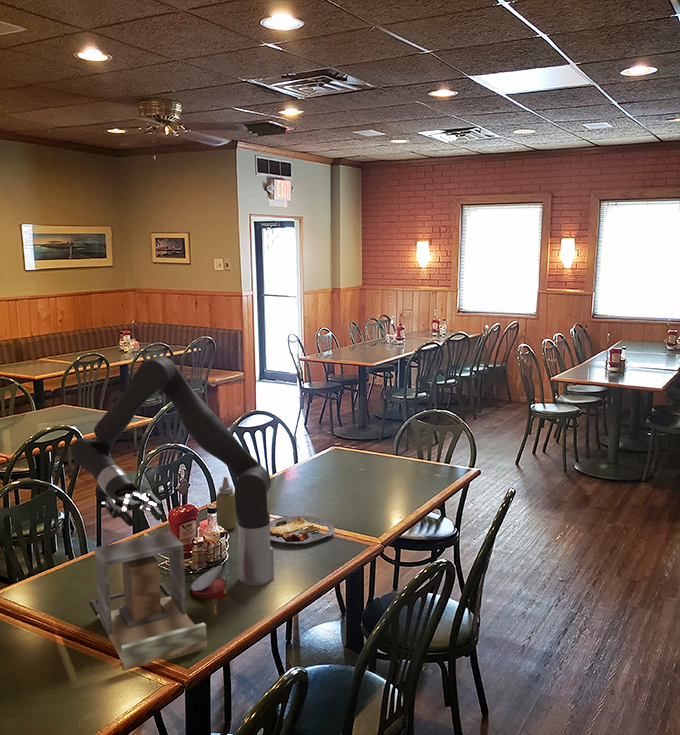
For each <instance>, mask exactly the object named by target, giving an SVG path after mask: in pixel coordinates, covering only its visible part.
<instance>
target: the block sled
mask: <svg viewBox="0 0 680 735" xmlns="http://www.w3.org/2000/svg"><path fill="white" fill-rule="evenodd" d="M159 566H160V565H159V561H158V560H157V558H156V557H155V555H154V556H150V557H145V558H141V559H136V560H132V561H127V562H123V563H121V569H122V585H123V587H122V588H123V592H124V596H123V600H124V601H123V603H124V605H121V606H119V607H118V609H119V613H120V615H121V616H122V618H123V620H124V622H125V623H126V625H127V627H128V628H129V627H133V626H136V625H140V624H144V623H147V622H151V621H155V620H159V619H162V618H166V617H167V611H166V610H165V609H164V607H163V606H162V604H161V602H160V598H161V590H160V589H161V587H160V583H161V582H160V571H159V570H160V568H159Z"/></svg>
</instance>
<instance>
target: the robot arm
mask: <svg viewBox="0 0 680 735" xmlns="http://www.w3.org/2000/svg"><path fill="white" fill-rule="evenodd" d="M158 391H161V392H162V393H163V395H164V396H166V398H167V399H168V400H169V401H170V402H171V404H172V405H173V407H174V408H175V410H176V412H177V415H178V417H179V419H180V420H181V424H182V426H183V427H184V429H185V430H186V432H187V434H188V435H189V436H190V437H191V438H192V439H193V440H194V442H195V443H196V444H197V445H198V446H199V447H200V448H201V449H202V450H203V451H205V452H206V453H208V454H209V455H211V456H212V457H214V458H216V459H217V460H219V461H221V462H222V463H223V464H224V465H225V466H226V467H227V468H228V469H229V470H230V471H231V472H232V474H233V475H234V476H235V477H236V481H235V484H234V493H235V510H236V516H237V519H238V520H237V532H238V534H237V535H238V536H237V537H238V560H239V562H238V563H239V564H238V565H239V566H238V567H239V568H238V569H239V571H238V572H239V581H240V583H242V584H243V585H246V586H253V587H254V586H261V584H262V585H265V584H267V583H269V582H270V581H271V579H272V580H274V579H275V569H274V568H275V564H274V563H275V562H274V561H275V560H274V557H275V556H274V548H273V547H272V545H271V541H270V521H271V516H270V512H269V511H268V497H267V496H268V492H269V490H270V488H271V484H272V479H271V475H270V473H269V472H268V471H267V469H265V467H264V466H262V465H261V464H260V463H259V462H258V461H257V460H256V459H255V458H254V457H253V456H252V455H251V454H249V452H247V450H246V449H245V448H244V447H243V446H242V444H241V443H240V442H239V441H238V440H237V439H236V437H235V436H234V435H233V434H232V432H231V431H230V430H229V429H228V427H226V426H225V423H223V421H222V420H220V418H219V417H218V416H217V415H216V414H215V413H214V411H213V410H212V409H211V408H210V407H209V406H208V405H207V403H205V401H204V400H203V399H202V398H201V397H200V396H199V395H198V394H197V393H196V391H194V389H193V388H192V386H190V384H189V383H188V382H187V380H186V379H185V377H184V376H183V374H182V373H181V371H180V370H179V368H178V367H177V366H176V364H175V363H174V362H173V361H172V359H170V358H168V357H166V356H163V355H157V356H156V355H155V356H152V357H150V358H149V359H146V360H143V362H142V363H140V365H139V367H138V368H137V370H136V372H135V373H134V375H133V377H132V379H131V380H130V382H129V384H128V385H127V386H126V388H125V390H124V391H123V393H121V395H120V397H118V399H117V400H116V401H115V403H113V405H112V406H111V407H109V409H108V410H107V412H105V414H104V415H103V416H102V417H101V418H100V419H99V421H98V422H97V423H96V424H95V426H94V428H93V433H94V435H95V436H96V438H97V440H96V439H91V438H85V437H80V438H77V439H75V440H74V441H73V443H72V444H71V447H70V455H71V458H72V459H73V461H74V462H75V463H76V464H77V465H78V466H80V467H81V468H82V469H83V470H85V471H86V472H87V473H89V474H90V475H92V477H93V478H94V479H95V481H96V482H97V483H98V484H99V487H100V488H101V490H102V491H103V492H104V493H105V495H106V496H107V497H106V500H105V502H104V506H103V507H105V509H106V511H108V512H107V513H109V515H110V516H111V518H112V519H117V518H119V519H120V520H122V521H123V522H124V524H125V525H127V526H128V527H133V526H134V524H135V518H134V517H133V516H132V515H131V514H130V513H129V512H130V511H133V510H141V511H143V512H144V511H146V512H150V514H151V516H153V518H154V519H155V520H156V521H157V522H158V521H161V519H162V516H163V512H162V511H161V510H160V505H161V503H162V502H161V500H159V498H157V497H156V495H155V494H154V493H153V492H152V491H151V490H147V491H146V493H142V492H140V491H139V490H138V487H137V485H136V484H135V482H134V481H133V480H132V479H131V478H130V476H128V474H127V473H126V472H125V471H124V470H123V469H122V468H121V467H120V466H119V465H118V464H117V463H116V461H115V460H114V459H113V458H112V457H110V454H111V451H112V449H113V446H115V445H114V444H115V442H116V441H117V439H118V438H119V437H120V435H121V434H122V433H123V432H124V431H125V430H126V428H127V427H128V426H130V425H129V424H130V423H131V422H132V420H133V418H134V417H135V415H136V413H138V410H139V409H140V408H141V407H142V406H143V405H144V403H145V402H146V401H147V400H148V399H149V398H150V397H152V396H153V395H155V393H157V392H158ZM143 503H144V504H143ZM118 507H119V508H120V509H119V508H118Z"/></svg>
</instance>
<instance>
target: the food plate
mask: <svg viewBox="0 0 680 735" xmlns="http://www.w3.org/2000/svg"><path fill="white" fill-rule="evenodd" d="M310 522H312V523H316V524H319V525H321V526H326V527H328V529H329V532H328V533H326V536H323V535H322V538H319V537H318V538H319V539H317V538H316V539H314V540H311V539H310V540H311V541H310V542H312V543H314V542H313V541H316V542H318V541H320V540H323V539H324V538H326V537H331V536H333V535H334V533H335V528H334V525H333V523H331V522H330V521H329V520H326V519H324V518H321V517H319V516H317V517H316V516H313V515H300V514H299V515H298V514H297V515H291V516H290V515H288V516H281V517H278V518H275V519H272V520H270V542H274V543H282V544H285V545H298V544H300V545H305V544H311V543H310V542H303V541H304V540H306V539H308V538H309V537H310V535H308V534H307V533H310V532H315V531H318V530H317V527H314V526H311V527H309V528H306V529H304V530H302V531H300V532H299V534H301V535H299V534H295V533H293V532H296V531H298V530H300V529H303V528H305V527H307V525H308V526H309V525H310V524H312V523H310ZM315 528H316V529H315ZM325 532H326V531H325ZM289 533H292V534H289ZM287 534H289V535H287ZM279 537H282V538H283V539H284V540H285V541H282V540H281V538H279Z"/></svg>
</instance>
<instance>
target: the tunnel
mask: <svg viewBox="0 0 680 735" xmlns="http://www.w3.org/2000/svg"><path fill="white" fill-rule="evenodd" d="M184 553H185V552H184V543H182V541H180V539H179V538H178V537H177V536H176V535H175V534H174V533H173V531H168V532H163V533H158V534H154V535H149V536H144V537H139V538H134V539H131V540H125V541H120V542H115V543H111V544H106V545H101V546H96V547H94V559H95V576H96V578H95V579H96V589H97V598H95V599H90V603H91V605H92V607H93V609H94V612H96V615H97V617H98V618H99V620H100V622H101V625H102V626H103V628H104V630H105V632H106V634H107V635H108V637H109V640H110V642H111V643H112V646H114V650H115V651H116V653H117V654H118V655H117V656H118V657H119V659H120V660H121V663H122V665H121V668H122V670H123V671H124V672H125V671H128V670H131V669H135V668H137V667H140V666H144V665H147V664H150V663H149V662H150V661H153V660H157V659H160V658H165V657H168V656H172V657H174V656H173V655H175V656H177V655H176V654H178V655H182V654H184V652H185V653H188V651H189V652H191V650H192V651H194V650H195V651H196V650H198V648H199V649H202V648H204V646H205V647H207V646H208V642H207V641H208V639H207V624H206V623H205V622H201V623H200V622H199V623H197V624H195V623H194V622H193V621H192V619H191V618H190V617H189V616H188V614H187V597H186V596H187V594H186V578H185V577H186V576H185V574H186V572H185V554H184ZM161 554H168V567H169V568H168V570H169V587H168V586H167V585H166V584H165V583H164V582H159V583H160V588H162V590H163V591H164V593H166V595H167V596H165V597H160V602H161V604H162V606H163V607H164V609H165V610H166V611H167V617H166V618H162V619H159V620H155V621H151V622H147V623H144V624H140V625H136V626H133V627H129V628H128V627H127V625H126V623H125V622H124V620H123V618H122V616H121V615H120V613H119V608H117V609H114V610H112V604H111V600H112V599H115V598H119V597H124V591H122V592H118V593H114V594H111V592H110V590H111V589H110V576H109V566H113V565H117V564H122V563H123V562H127V561H132V560H136V559H141V558H145V557H150V556H154V557H155V556H157V555H161ZM201 647H202V648H201ZM181 653H182V654H181ZM168 658H169V657H168ZM165 659H166V658H165Z"/></svg>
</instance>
